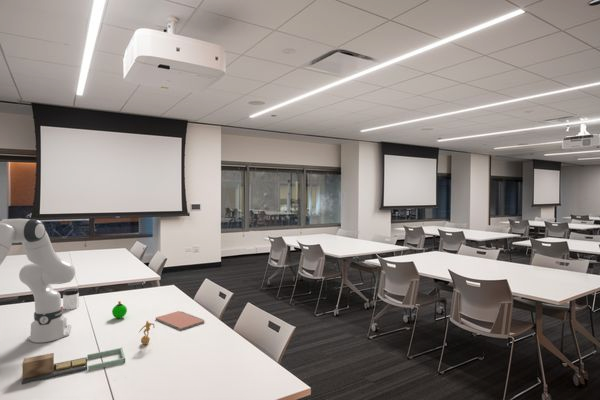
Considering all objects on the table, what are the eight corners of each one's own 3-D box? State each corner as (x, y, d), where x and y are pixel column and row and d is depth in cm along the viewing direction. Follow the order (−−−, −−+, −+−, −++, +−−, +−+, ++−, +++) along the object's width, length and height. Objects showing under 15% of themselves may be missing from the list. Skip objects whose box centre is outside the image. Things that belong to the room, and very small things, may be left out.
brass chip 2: (72, 370, 151) (71, 365, 151) (72, 365, 156) (72, 360, 155) (85, 367, 154) (85, 362, 154) (85, 362, 158) (85, 358, 158)
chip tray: (88, 373, 151) (88, 366, 151) (87, 361, 162) (87, 354, 162) (125, 365, 158) (125, 358, 158) (122, 353, 169) (122, 347, 169)
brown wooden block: (22, 380, 143) (22, 363, 142) (24, 375, 147) (23, 358, 147) (53, 374, 148) (53, 357, 148) (53, 369, 152) (53, 352, 152)
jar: (64, 310, 231) (64, 292, 231) (61, 308, 237) (61, 289, 237) (80, 307, 237) (80, 289, 237) (77, 305, 243) (77, 287, 243)
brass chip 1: (56, 373, 148) (56, 368, 148) (56, 368, 153) (56, 363, 153) (70, 370, 151) (70, 365, 151) (70, 365, 155) (70, 361, 155)
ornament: (123, 320, 215) (123, 303, 214) (109, 320, 214) (109, 303, 214) (129, 315, 223) (129, 299, 222) (115, 315, 222) (115, 299, 222)
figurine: (150, 340, 185) (150, 317, 185) (157, 343, 182) (157, 319, 181) (135, 345, 178) (135, 321, 178) (141, 348, 175) (141, 324, 175)
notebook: (206, 323, 211) (206, 319, 211) (180, 331, 198) (180, 327, 198) (180, 313, 228) (180, 310, 228) (155, 320, 215) (155, 317, 215)
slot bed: (21, 387, 140) (21, 381, 140) (25, 375, 149) (25, 369, 149) (87, 372, 152) (87, 367, 152) (86, 362, 161) (86, 356, 161)
